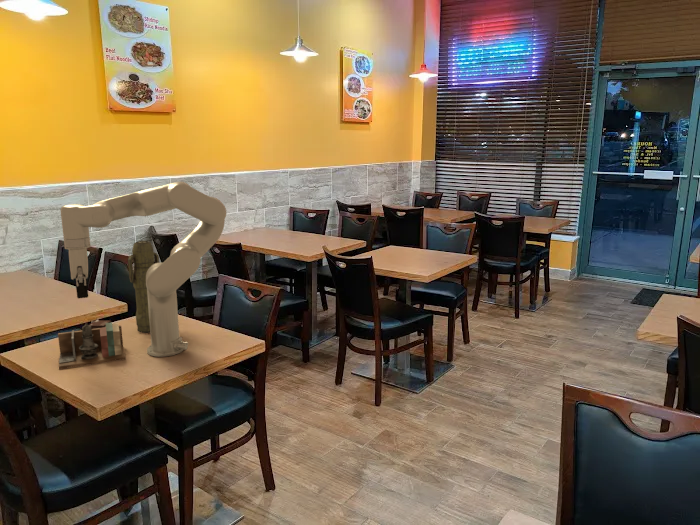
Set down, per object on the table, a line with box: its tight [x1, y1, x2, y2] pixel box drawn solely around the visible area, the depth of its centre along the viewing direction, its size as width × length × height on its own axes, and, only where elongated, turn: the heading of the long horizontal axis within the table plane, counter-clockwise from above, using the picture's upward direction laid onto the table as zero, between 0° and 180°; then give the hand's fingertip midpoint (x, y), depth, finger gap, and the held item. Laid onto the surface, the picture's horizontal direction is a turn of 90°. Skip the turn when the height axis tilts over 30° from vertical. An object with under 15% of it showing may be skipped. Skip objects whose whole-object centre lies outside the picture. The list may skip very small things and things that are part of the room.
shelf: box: [57, 322, 126, 370], centre depth 184 cm, size 20×13×10 cm, turn 116°
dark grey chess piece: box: [79, 322, 98, 359], centre depth 182 cm, size 6×6×12 cm
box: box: [89, 320, 112, 329], centre depth 199 cm, size 6×6×7 cm
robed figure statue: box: [127, 240, 160, 334], centre depth 209 cm, size 9×12×35 cm
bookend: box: [58, 329, 76, 365], centre depth 181 cm, size 5×9×8 cm, turn 26°
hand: (82, 293), depth 178 cm, fingers open, 9 cm apart
